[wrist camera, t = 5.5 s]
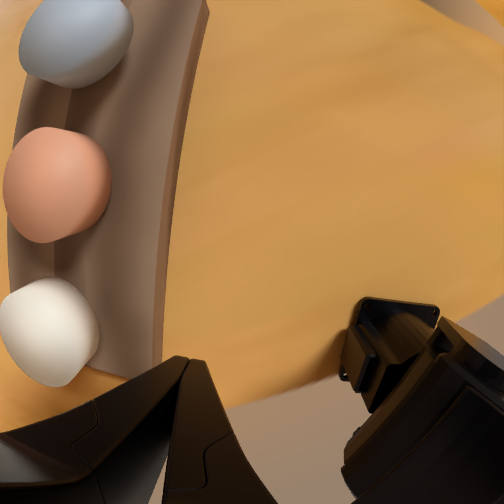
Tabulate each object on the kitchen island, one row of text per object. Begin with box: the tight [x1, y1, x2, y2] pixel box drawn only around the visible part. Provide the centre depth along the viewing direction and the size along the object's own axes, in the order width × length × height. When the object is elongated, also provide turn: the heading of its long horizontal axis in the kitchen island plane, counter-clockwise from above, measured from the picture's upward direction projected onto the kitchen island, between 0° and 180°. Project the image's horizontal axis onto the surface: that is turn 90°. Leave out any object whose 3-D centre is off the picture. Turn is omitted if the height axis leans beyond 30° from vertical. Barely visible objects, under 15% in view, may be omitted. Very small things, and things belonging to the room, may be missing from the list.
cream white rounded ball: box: [0, 276, 99, 387], centre depth 17 cm, size 6×6×6 cm
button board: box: [7, 0, 210, 379], centre depth 18 cm, size 12×25×2 cm, turn 171°
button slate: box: [19, 0, 134, 89], centre depth 13 cm, size 6×6×6 cm
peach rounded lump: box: [3, 127, 112, 243], centre depth 16 cm, size 6×6×6 cm
